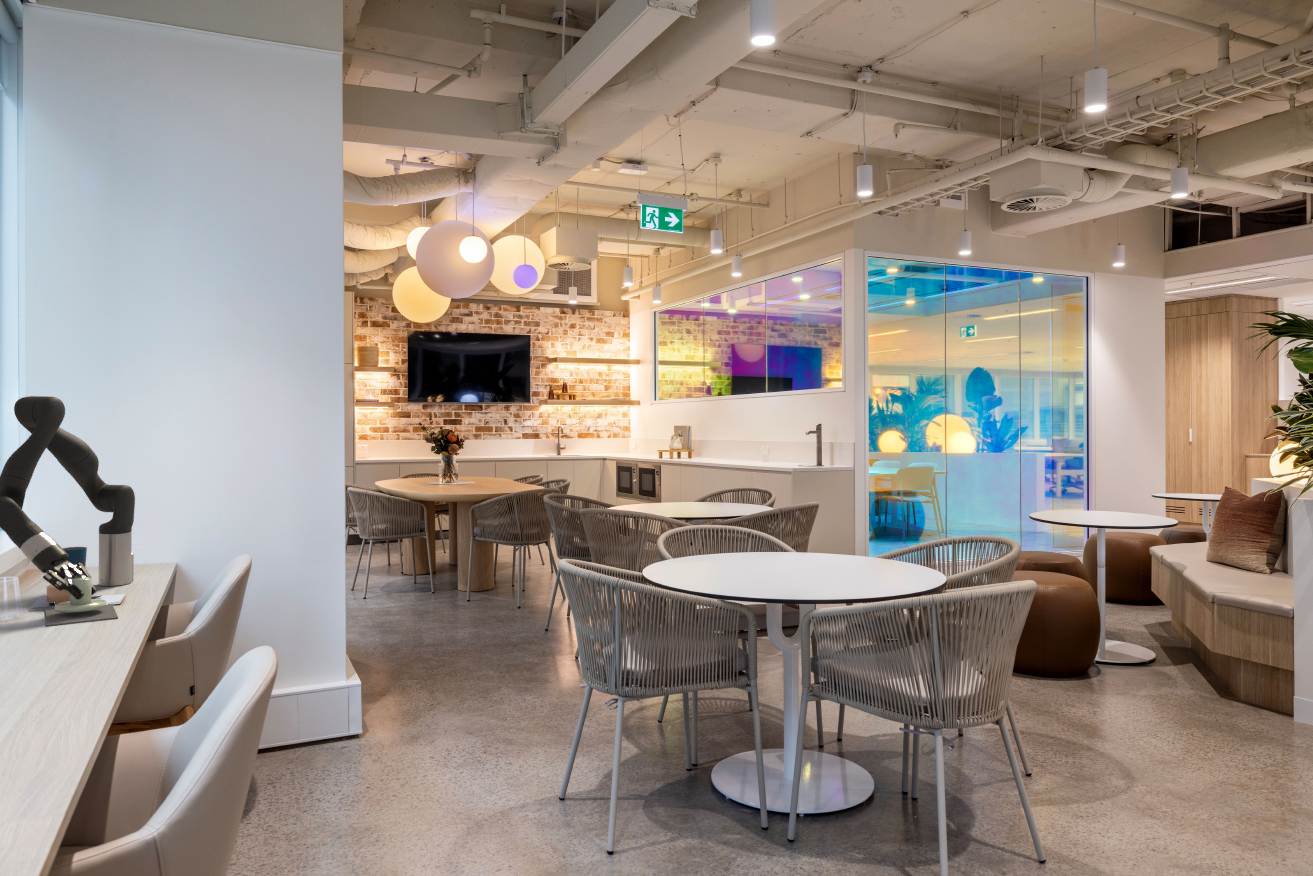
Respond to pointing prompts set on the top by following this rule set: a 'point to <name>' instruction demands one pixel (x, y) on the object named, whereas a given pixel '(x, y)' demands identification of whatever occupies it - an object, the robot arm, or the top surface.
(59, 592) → the bowl
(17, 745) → the top surface
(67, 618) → the mat
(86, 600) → the lid
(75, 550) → the cup
